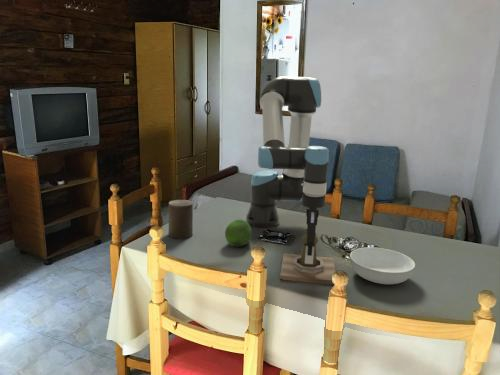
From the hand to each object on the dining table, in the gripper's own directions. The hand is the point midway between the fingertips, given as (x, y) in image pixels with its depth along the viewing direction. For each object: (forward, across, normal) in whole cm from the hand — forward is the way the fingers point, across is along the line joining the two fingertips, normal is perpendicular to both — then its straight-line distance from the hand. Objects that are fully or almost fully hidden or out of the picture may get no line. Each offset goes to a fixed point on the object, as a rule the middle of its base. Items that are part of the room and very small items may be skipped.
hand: (308, 258), depth 143 cm
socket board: (+4, 0, 0) cm, 4 cm away
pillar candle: (+5, -22, -52) cm, 57 cm away
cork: (+3, -1, 0) cm, 3 cm away
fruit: (+5, -18, -27) cm, 33 cm away
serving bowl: (+5, 0, +24) cm, 24 cm away
